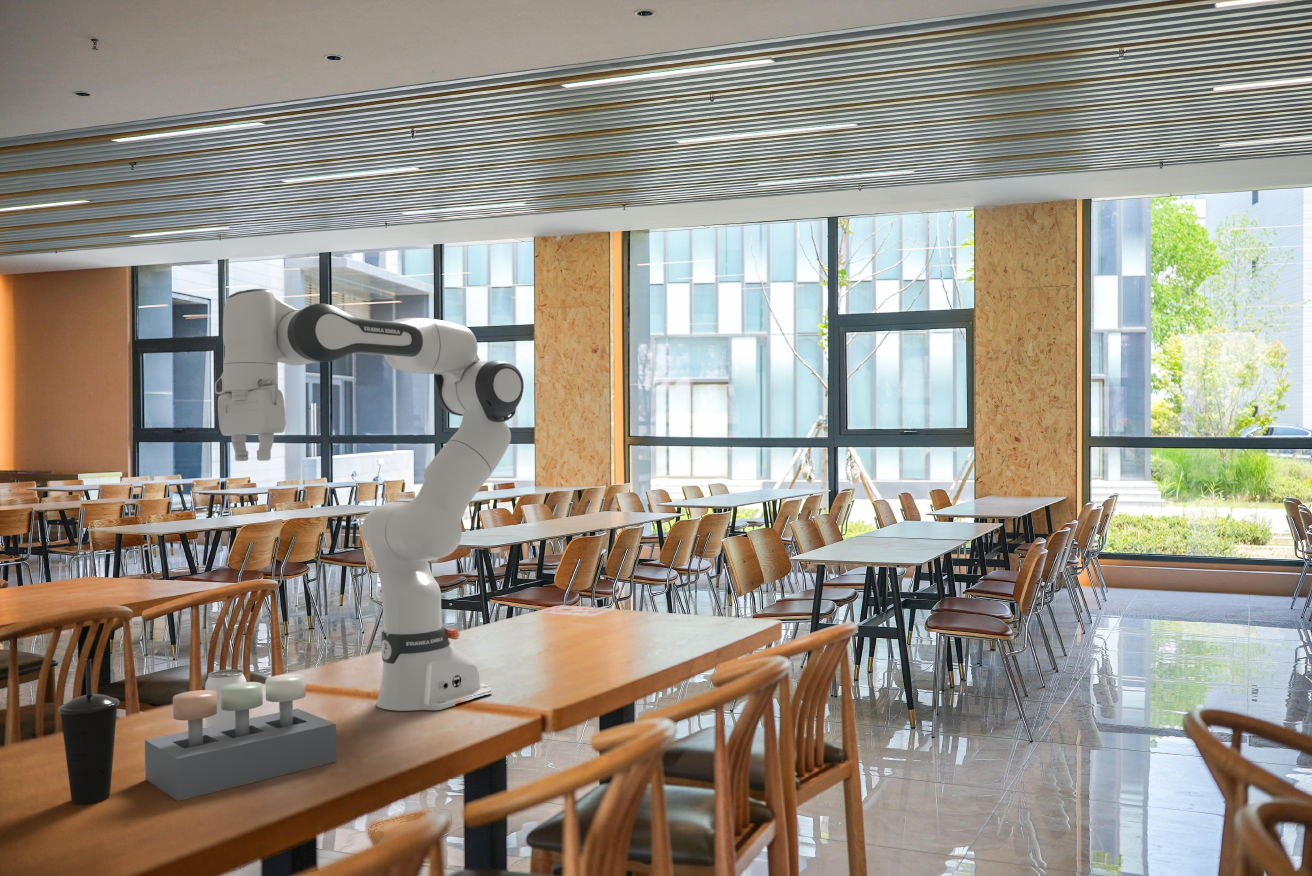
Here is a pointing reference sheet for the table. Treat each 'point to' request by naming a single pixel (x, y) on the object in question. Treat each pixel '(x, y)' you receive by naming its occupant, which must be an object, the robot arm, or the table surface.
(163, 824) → the table surface
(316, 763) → the mount
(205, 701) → the knob
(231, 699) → the knob mid
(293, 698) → the knob
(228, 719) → the can
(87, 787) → the drinking cup
